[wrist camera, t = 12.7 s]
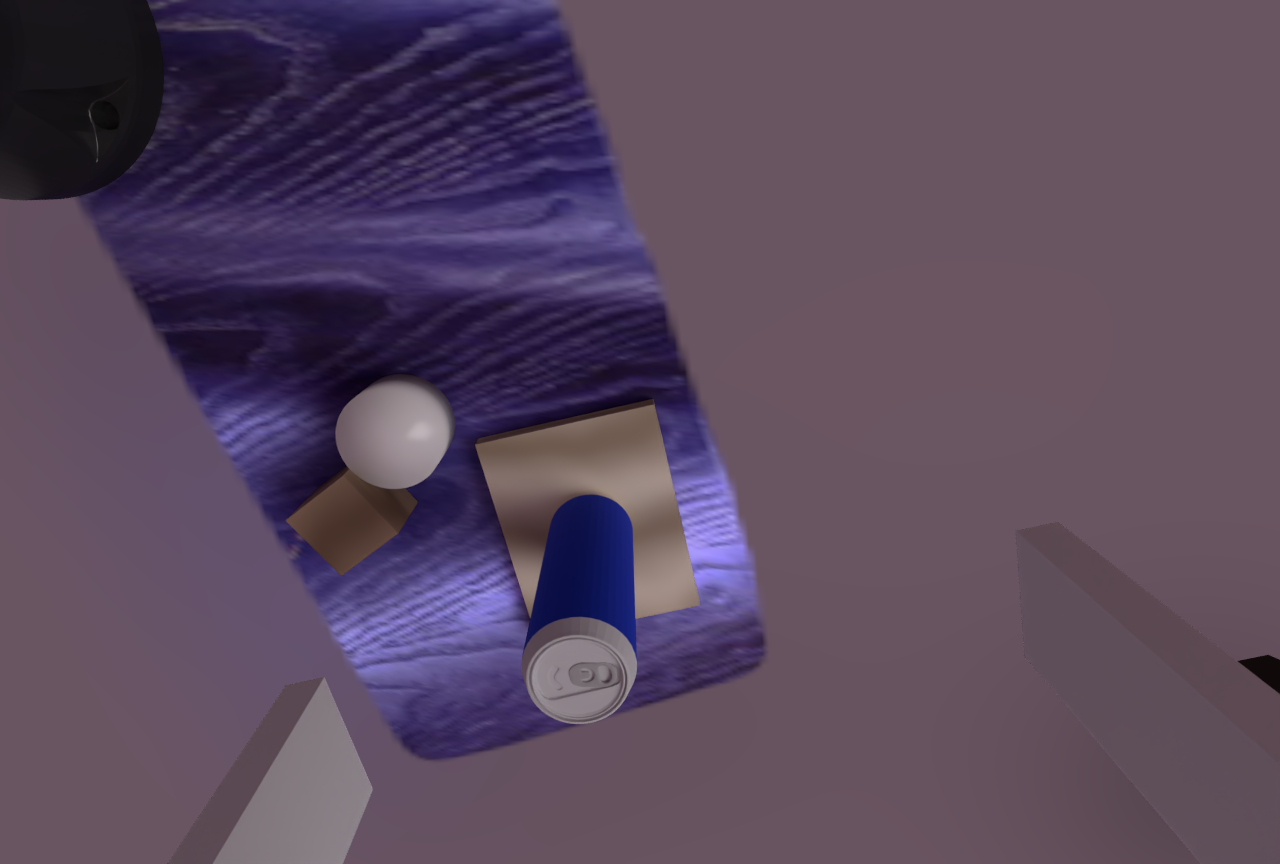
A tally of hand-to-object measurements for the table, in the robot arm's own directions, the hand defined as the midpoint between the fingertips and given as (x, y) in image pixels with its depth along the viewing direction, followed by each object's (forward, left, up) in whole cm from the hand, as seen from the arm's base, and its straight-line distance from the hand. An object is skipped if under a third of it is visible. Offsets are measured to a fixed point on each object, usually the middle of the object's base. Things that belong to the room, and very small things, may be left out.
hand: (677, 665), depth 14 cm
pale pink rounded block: (+2, -15, -32) cm, 35 cm away
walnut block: (+6, -19, -32) cm, 37 cm away
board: (+11, -6, -32) cm, 34 cm away
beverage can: (+11, -6, -31) cm, 33 cm away
